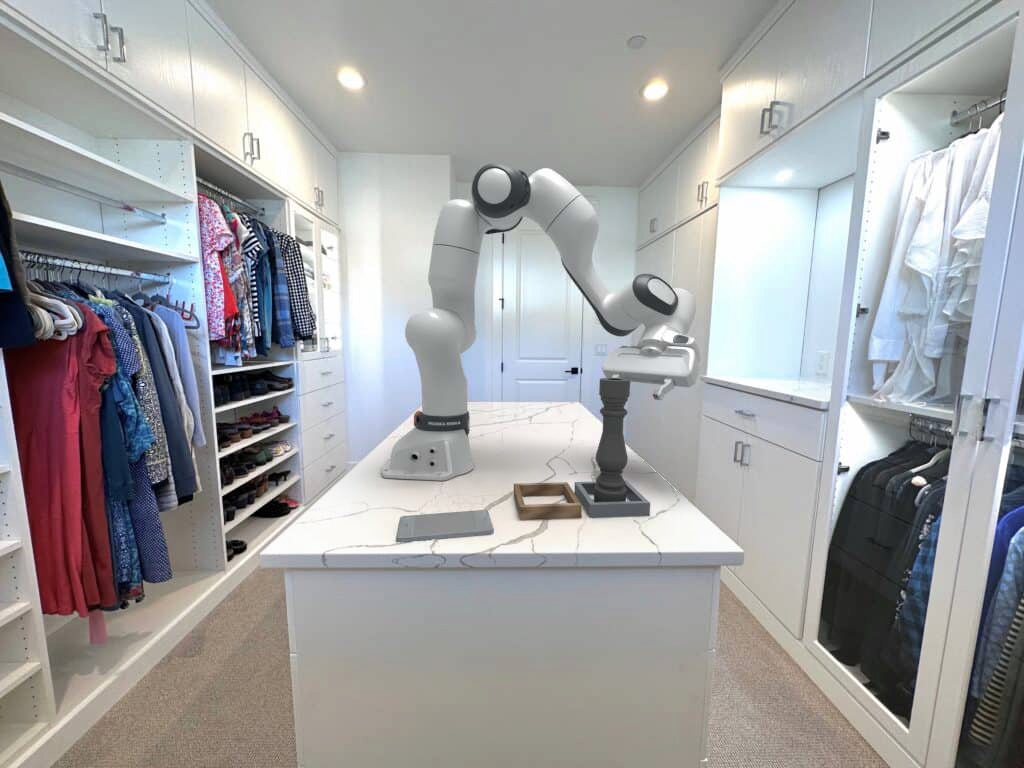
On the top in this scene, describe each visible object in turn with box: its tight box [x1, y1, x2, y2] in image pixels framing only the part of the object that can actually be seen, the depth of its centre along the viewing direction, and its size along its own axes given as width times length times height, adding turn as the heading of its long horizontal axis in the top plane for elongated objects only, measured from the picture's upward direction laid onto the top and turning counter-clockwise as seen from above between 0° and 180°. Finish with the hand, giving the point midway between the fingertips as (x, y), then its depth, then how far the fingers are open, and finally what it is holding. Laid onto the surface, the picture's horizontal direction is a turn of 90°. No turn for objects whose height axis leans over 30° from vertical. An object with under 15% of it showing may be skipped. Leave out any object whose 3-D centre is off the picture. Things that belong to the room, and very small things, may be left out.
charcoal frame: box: [573, 480, 651, 519], centre depth 79 cm, size 11×11×2 cm
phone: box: [396, 509, 495, 544], centre depth 69 cm, size 8×16×1 cm, turn 101°
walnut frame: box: [513, 481, 583, 521], centre depth 78 cm, size 11×11×2 cm
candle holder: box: [593, 377, 631, 502], centre depth 77 cm, size 6×6×25 cm
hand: (635, 395), depth 83 cm, fingers open, 8 cm apart
